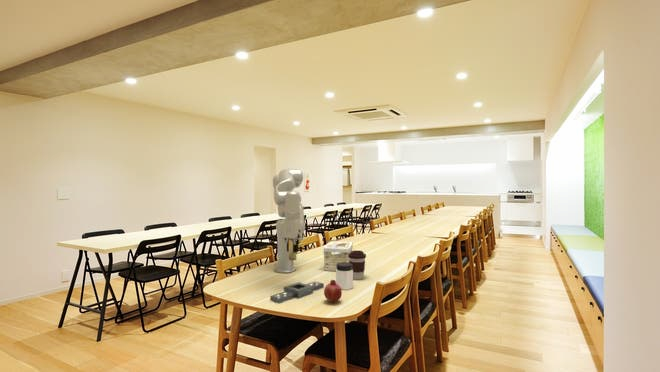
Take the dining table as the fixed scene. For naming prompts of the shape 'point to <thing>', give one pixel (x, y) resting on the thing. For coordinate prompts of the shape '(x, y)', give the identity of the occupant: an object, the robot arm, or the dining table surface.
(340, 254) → the storage basket
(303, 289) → the grey socket base
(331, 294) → the fruit
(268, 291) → the dining table surface
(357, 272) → the coffee cup
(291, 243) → the pin
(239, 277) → the dining table surface
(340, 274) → the jar
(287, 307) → the dining table surface
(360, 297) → the dining table surface
